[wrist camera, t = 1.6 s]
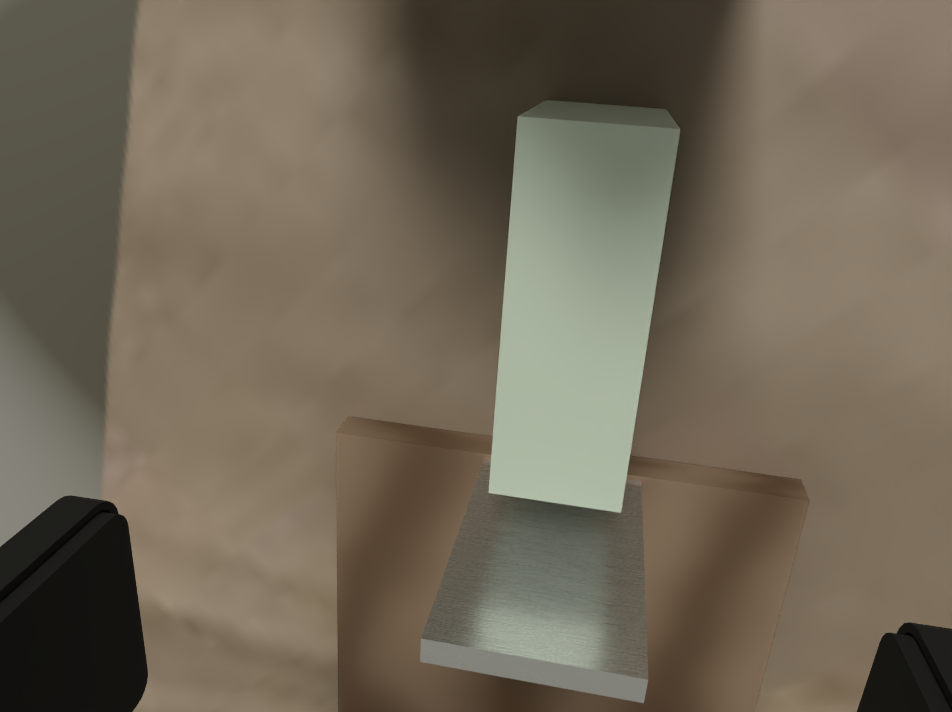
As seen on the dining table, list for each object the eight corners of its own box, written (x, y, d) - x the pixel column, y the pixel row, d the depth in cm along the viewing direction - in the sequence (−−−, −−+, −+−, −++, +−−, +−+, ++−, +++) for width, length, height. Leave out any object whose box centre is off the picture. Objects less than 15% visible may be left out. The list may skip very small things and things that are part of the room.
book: (666, 108, 26) (680, 129, 19) (622, 406, 30) (621, 513, 23) (546, 99, 26) (517, 116, 19) (519, 393, 30) (488, 493, 23)
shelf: (801, 479, 29) (898, 718, 19) (724, 781, 35) (766, 1089, 25) (348, 416, 32) (211, 595, 21) (348, 707, 38) (242, 958, 27)
